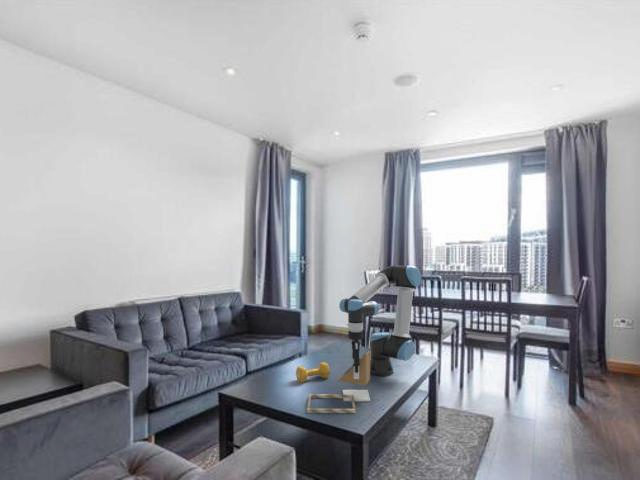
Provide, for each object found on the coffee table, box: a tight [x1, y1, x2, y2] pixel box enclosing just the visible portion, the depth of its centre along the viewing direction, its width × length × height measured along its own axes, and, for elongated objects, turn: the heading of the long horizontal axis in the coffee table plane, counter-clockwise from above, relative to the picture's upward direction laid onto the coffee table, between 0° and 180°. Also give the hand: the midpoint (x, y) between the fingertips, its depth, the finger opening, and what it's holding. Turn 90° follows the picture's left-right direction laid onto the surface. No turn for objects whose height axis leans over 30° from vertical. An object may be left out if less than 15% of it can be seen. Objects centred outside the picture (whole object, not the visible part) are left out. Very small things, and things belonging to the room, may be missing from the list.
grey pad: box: [342, 389, 371, 403], centre depth 183 cm, size 13×13×1 cm
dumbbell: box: [295, 361, 330, 384], centre depth 207 cm, size 19×9×8 cm, turn 118°
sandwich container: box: [336, 349, 371, 386], centre depth 184 cm, size 9×15×15 cm, turn 68°
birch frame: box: [306, 393, 357, 414], centre depth 173 cm, size 22×17×2 cm
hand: (355, 375), depth 183 cm, fingers closed on sandwich container, 9 cm apart
